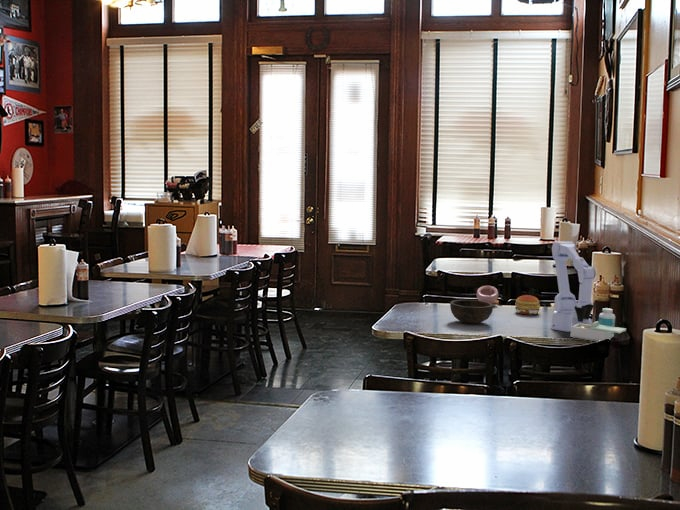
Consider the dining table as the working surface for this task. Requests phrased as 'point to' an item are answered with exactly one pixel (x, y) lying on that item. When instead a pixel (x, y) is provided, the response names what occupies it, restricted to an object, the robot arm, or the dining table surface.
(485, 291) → the pink round pot
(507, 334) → the dining table surface
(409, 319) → the dining table surface
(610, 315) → the pill bottle
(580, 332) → the housing
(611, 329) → the lid
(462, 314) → the bowl
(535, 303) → the burger
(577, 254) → the robot arm
